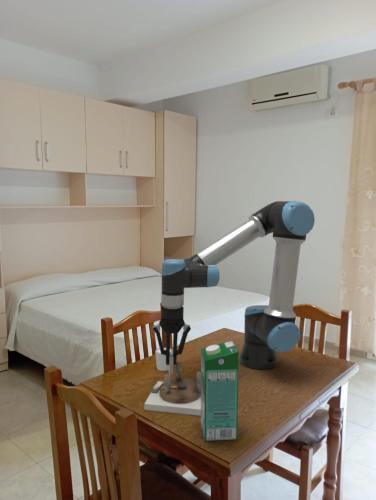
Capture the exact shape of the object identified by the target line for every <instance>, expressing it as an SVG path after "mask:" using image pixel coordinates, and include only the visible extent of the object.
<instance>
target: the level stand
mask: <svg viewBox="0 0 376 500" xmlns="http://www.w3.org/2000/svg"><path fill="white" fill-rule="evenodd" d="M162 383H164V381H158V380H157V383H155V385H154V386H153V389H152V390H151V391H150V394H149V395H148V397H147V398H146V401H145V402H144V404H143V408H144V410H145V411H152V412H161V413H171V414H180V415H187V416H189V415H191V416H197V417H198V416H199V417H201V395H200V397H199V398H197V399H196V400H194V401H191V402H186V403H174V402H169V401H166V400H164V399H163V398H162V397H161V396H160V389H159V388H160V385H161V384H162Z"/></svg>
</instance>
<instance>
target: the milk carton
mask: <svg viewBox="0 0 376 500" xmlns="http://www.w3.org/2000/svg"><path fill="white" fill-rule="evenodd" d="M239 363H240V352H239V350H238V347H236V344H235V343H234V341H233V340H228V341H224V342H222V343H217V344H211V345H209V346H206V347H204V348H201V349H200V371H201V416H200V424H201V425H200V426H201V429H202V434H203V439H204V441H205V442H209V441H210V442H211V441H227V440H228V441H229V440H230V441H232V440H233V441H234V440H238V431H239V430H238V428H239V427H238V425H239V424H238V423H239V422H238V421H239V419H238V418H239V416H238V415H239V413H238V411H239Z"/></svg>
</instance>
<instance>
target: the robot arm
mask: <svg viewBox="0 0 376 500" xmlns="http://www.w3.org/2000/svg"><path fill="white" fill-rule="evenodd" d="M315 218H316V217H315V214H314V211H313V209H311V207H310V206H309V205H308V204H307V203H305V202H303V201H298V200H297V201H296V200H287V201H286V200H285V201H283V200H279V201H278V200H277V201H273V202H271V203H268V204H267V205H265V206H264V207H261V208H260V209H258V210H257V211H255V212H254V213H252V214H251V215H250V216H249V217H248V220H247V221H245V222H243V223H242V224H241V225H239V226H237V227H236V228H234V229H233V230H231V231H230V232H227V234H225V235H224V236H222V237H220V238H218V239H217V240H215V241H214V242H213V243H211V244H210V245H207V246H206V247H205V248H203V249H202V250H200V251H199V252H197V253H195V254H193V255H192V256H190V257H188V258H186V257H185V258H183V259H181V258H180V259H179V258H177V259H175V258H170V259H165V260H163V261H162V265H161V273H160V275H161V297H160V299H161V301H160V304H161V307H160V319H159V321H158V323H157V324H155V325H153V326H152V330H153V332H154V333H155V335H156V340H157V343H158V347H159V348H160V351H161V354H162V355H166V365H169V370H168V374H170V376H174V366H176V362H178V361H177V359H178V355H182V354H183V351H184V349H185V348H184V347H185V345H186V342H187V341H186V340H187V338H188V334H189V333H190V332H191V330H192V327H191V325H190V324H186V323H185V320H184V311H185V310H184V304H185V302H184V301H185V289H192V288H195V289H197V288H212V287H213V288H214V287H217V286H218V284H219V282H220V277H221V276H220V270H219V267H218V266H217V265H218V264H220V263H221V262H222V261H225V260H226V259H228V257H230V256H232V255H234V254H235V253H236V252H238V251H239V250H242V249H243V248H244V247H246V246H247V245H249V244H250V243H252V242H254V241H255V240H256V239H258V238H264V237H266V236H268V235H270V234H272V239H273V240H274V241H275V251H274V259H273V267H272V274H271V275H272V276H271V282H270V283H271V284H270V291H269V292H270V293H269V301H268V305H267V304H264V305H263V304H258V305H250V306H247V307H245V309H244V331H243V332H244V339H243V340H244V342H243V345H242V347H241V351H240V352H239V363H240V364H241V365H242V366H243V367H247V368H250V369H253V370H255V369H256V370H269V369H272V368H276V367H277V365H278V362H279V361H278V359H279V358H278V354H277V352H278V353H281V354H282V353H288V352H290V351H291V350H292V351H293V349H294V348H295V347H296V346H297V345H298V343H299V342H300V339H301V330H300V329H299V327H298V325H297V324H296V320H297V314H296V313H295V312H294V309H293V308H294V303H295V302H294V301H295V293H296V284H297V278H298V270H299V269H298V268H299V261H300V253H301V246H302V244H303V243H305V242H306V239H307V235H308V234H309V233H310V232H311V231H312V230H313V228H314V225H315V220H316V219H315ZM182 328H183V331H182V335H181V338H180V341H179V344H178V337H179V332H180V331H181V330H182ZM161 329H162V330H163V332H164V333H165V347H164V345H163V340H162V335H161V332H160V331H161ZM171 334H172V350H173V354H170V349H171ZM164 348H166V350H164Z"/></svg>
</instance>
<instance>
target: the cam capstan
mask: <svg viewBox="0 0 376 500" xmlns="http://www.w3.org/2000/svg"><path fill="white" fill-rule="evenodd" d="M163 376H164V381H163V382H164V383H162V384H161V385H160V388H159V389H160V396H161V397H162V398H163V399H164V400H166V401H169V402H174V403H186V402H191V401H194V400H196V399H197V398H199V397H200V395H201V370H200V371H199V370H198V371H196V381H195V380H193V379H189V378H182V361H176V365H175V378H171V375H170V374H169V373H165V374H164V375H163Z"/></svg>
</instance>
